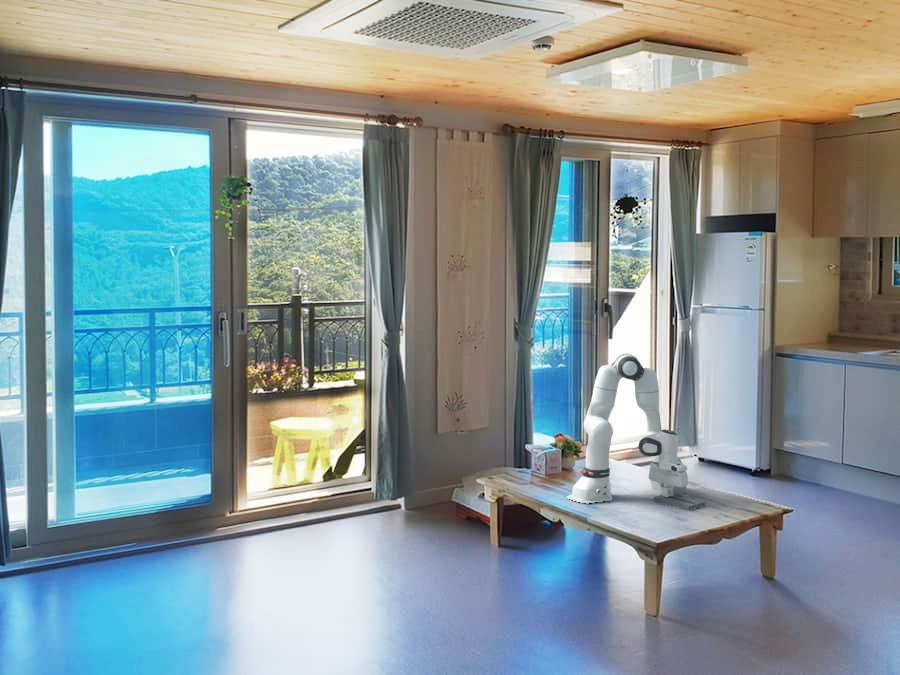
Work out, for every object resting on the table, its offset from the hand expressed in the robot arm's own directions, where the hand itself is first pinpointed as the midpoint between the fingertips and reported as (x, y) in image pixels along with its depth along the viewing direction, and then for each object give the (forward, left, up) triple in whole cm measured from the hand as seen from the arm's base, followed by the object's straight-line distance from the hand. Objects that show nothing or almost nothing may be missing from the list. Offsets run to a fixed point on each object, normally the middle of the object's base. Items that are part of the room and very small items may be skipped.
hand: (667, 493), depth 411 cm
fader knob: (0, 0, -2) cm, 2 cm away
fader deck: (0, -7, -4) cm, 7 cm away
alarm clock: (+11, +8, -4) cm, 15 cm away
